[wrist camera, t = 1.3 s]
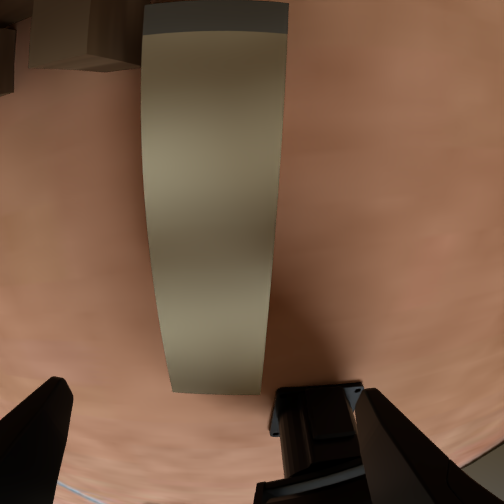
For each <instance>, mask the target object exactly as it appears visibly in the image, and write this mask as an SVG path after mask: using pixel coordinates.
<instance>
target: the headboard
mask: <svg viewBox="0 0 504 504" xmlns="http://www.w3.org/2000/svg"><path fill="white" fill-rule="evenodd" d="M150 2H151V0H0V96H3V95H6V94H10V93H13V92H14V53H15V38H16V30H10V29H3V28H4V27H6V26H8V25H11V24H13V23H16V22H18V21H21V20H23V19H26V18H29V17H31V16H32V22H31V32H30V45H29V65H28V68H39V69H67V70H83V71H95V72H111V71H119V70H127V69H136V68H141V62H142V38H143V22H144V9H145V5H149V4H150Z"/></svg>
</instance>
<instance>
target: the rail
mask: <svg viewBox="0 0 504 504" xmlns="http://www.w3.org/2000/svg"><path fill="white" fill-rule="evenodd" d="M288 10H289V3H281V2H269V1H252V0H197V1H180V2H168V3H158V4H149V5H145V9H144V22H143V38H142V62H141V140H142V165H143V182H144V197H145V210H146V221H147V232H148V242H149V251H150V259H151V268H152V275H153V283H154V290H155V297H156V304H157V310H158V317H159V323H160V329H161V335H162V340H163V346H164V351H165V357H166V362H167V367H168V372H169V377H170V382H171V386H172V391H173V392H178V393H194V394H219V395H260V392H261V382H262V373H263V363H264V352H265V342H266V331H267V321H268V310H269V299H270V287H271V276H272V264H273V252H274V239H275V227H276V214H277V200H278V186H279V172H280V158H281V142H282V127H283V110H284V93H285V74H286V55H287V34H288Z"/></svg>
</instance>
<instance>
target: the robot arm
mask: <svg viewBox="0 0 504 504" xmlns="http://www.w3.org/2000/svg"><path fill="white" fill-rule="evenodd" d="M72 406H73V394H72V392H71V390H70V388H69V386H68V384H67V382H66V380H65V379H64V378H60V377H55V376H53V377H51V378H50V379H48V380H47V381H46V382H45V383H44V384H42V385H41V386H40V387H39V388H38V389H36V390H35V391H34V392H33V393H32V394H30V395H29V396H28V397H27V398H26V399H25V400H23V401H22V402H21V403H20V404H19V405H17V406H16V407H15V408H14V409H13V410H12V411H10V412H9V413H8V414H7V415H6V416H5V417H3V418H2V419H1V420H0V504H53V500H54V495H55V490H56V485H57V480H58V476H59V471H60V467H61V463H62V458H63V454H64V450H65V446H66V442H67V437H68V430H69V424H70V417H71V411H72ZM354 410H355V415H356V421H355V417H354V414H353V412H354ZM356 422H357V424H356ZM269 431H270V436H272V437H280V442H281V451H282V460H283V469H284V478H285V479H280V480H276V481H271V482H260V483H257V486H256V493H255V496H254V503H253V504H504V501H502V500H501V499H499V498H498V497H496V496H495V495H494V494H492V493H491V492H489V491H488V490H487V489H485V488H484V487H482V486H481V485H480V484H478V483H477V482H476V481H475V480H473V479H472V478H471V477H469V476H468V475H467V474H466V473H465V472H464V471H462V470H461V469H460V468H459V467H458V466H457V465H456V464H455V463H454V462H453V461H452V460H449V458H448V457H447V456H446V455H445V454H444V453H443V452H442V451H441V450H440V449H439V448H438V447H437V446H436V445H435V444H434V443H433V442H432V441H431V440H430V439H429V438H428V437H427V436H425V435H424V434H423V433H422V432H421V431H420V430H419V429H418V428H417V427H416V426H415V425H414V424H413V423H412V422H411V421H410V420H409V419H408V418H407V417H406V416H405V415H404V414H403V413H402V412H401V411H400V410H399V409H397V408H396V407H395V406H394V405H393V404H392V403H391V402H390V401H389V400H388V399H387V398H386V397H385V396H384V395H383V394H382V393H381V392H380V391H379V390H378V389H376V388H367V389H364V387H363V384H362V383H360V382H357V383H347V384H336V385H323V386H307V387H285V388H280V389H278V390H277V391H276V394H275V401H274V407H273V413H272V419H271V424H270V430H269Z"/></svg>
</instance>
